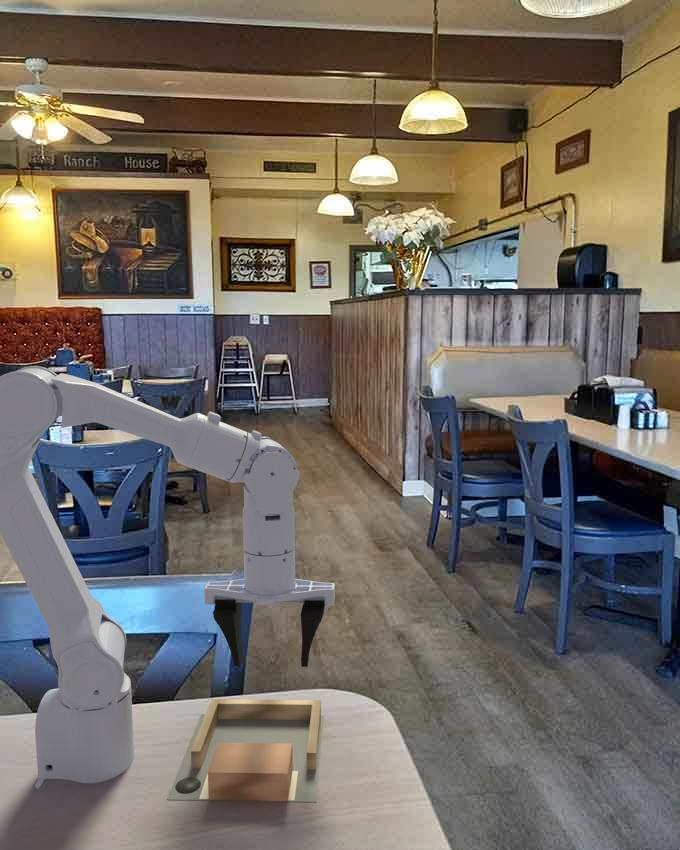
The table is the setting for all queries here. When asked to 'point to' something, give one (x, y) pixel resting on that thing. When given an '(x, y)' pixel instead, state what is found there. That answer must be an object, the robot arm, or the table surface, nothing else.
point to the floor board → (293, 732)
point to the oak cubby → (258, 711)
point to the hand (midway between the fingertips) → (271, 662)
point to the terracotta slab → (250, 772)
